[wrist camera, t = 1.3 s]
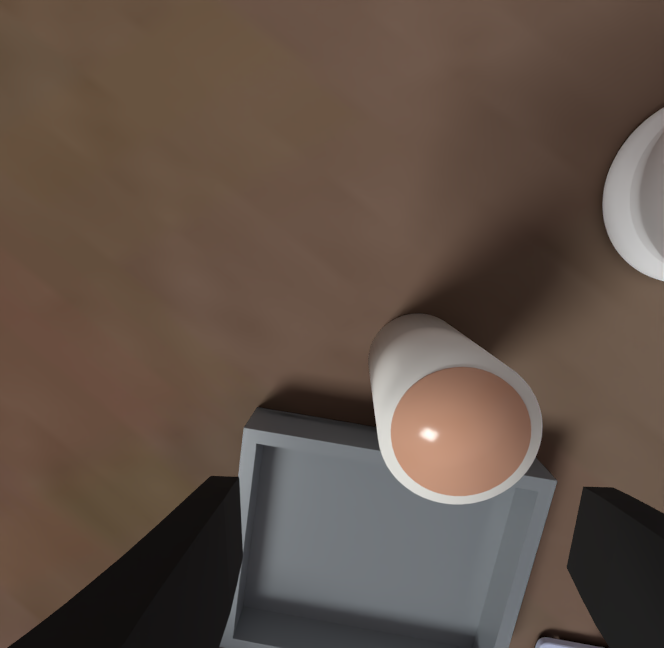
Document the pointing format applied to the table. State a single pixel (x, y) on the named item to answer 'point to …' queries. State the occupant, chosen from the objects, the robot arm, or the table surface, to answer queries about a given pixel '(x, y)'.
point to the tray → (371, 547)
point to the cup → (449, 412)
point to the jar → (638, 198)
